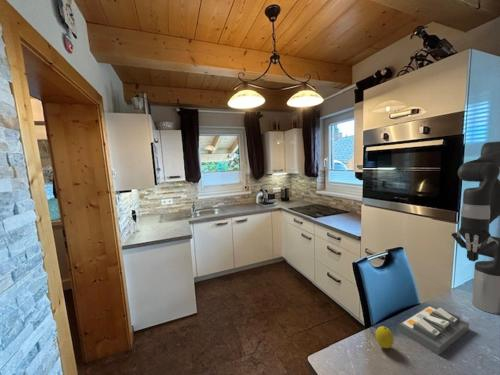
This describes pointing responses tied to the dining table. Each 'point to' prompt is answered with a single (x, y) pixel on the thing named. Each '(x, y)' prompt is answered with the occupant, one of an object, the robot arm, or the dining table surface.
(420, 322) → the switch
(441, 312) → the switch
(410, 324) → the switch unit
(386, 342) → the lemon
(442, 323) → the switch mid
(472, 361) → the dining table surface
